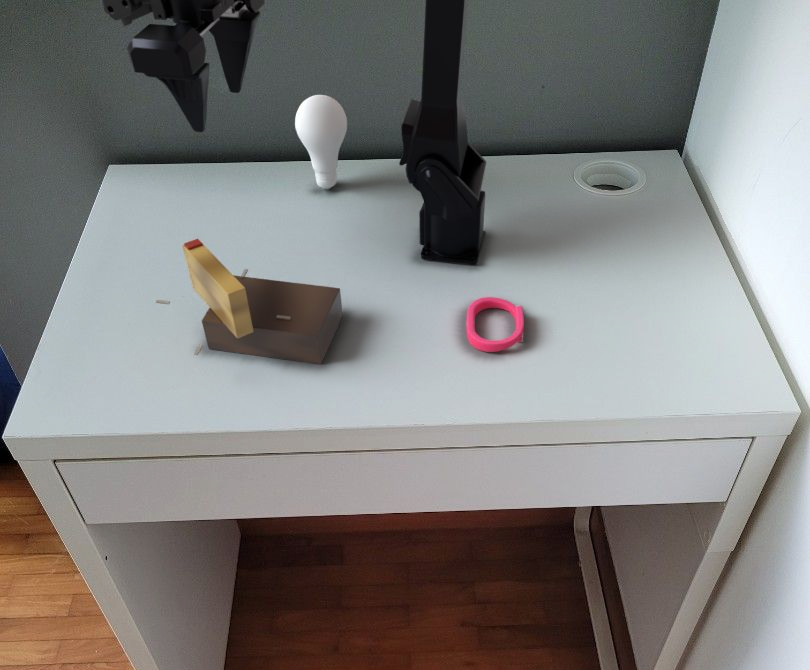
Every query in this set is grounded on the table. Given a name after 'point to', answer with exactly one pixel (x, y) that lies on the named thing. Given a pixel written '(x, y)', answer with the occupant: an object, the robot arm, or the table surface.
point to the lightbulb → (322, 135)
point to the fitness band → (488, 344)
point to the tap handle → (218, 288)
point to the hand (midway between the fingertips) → (217, 111)
